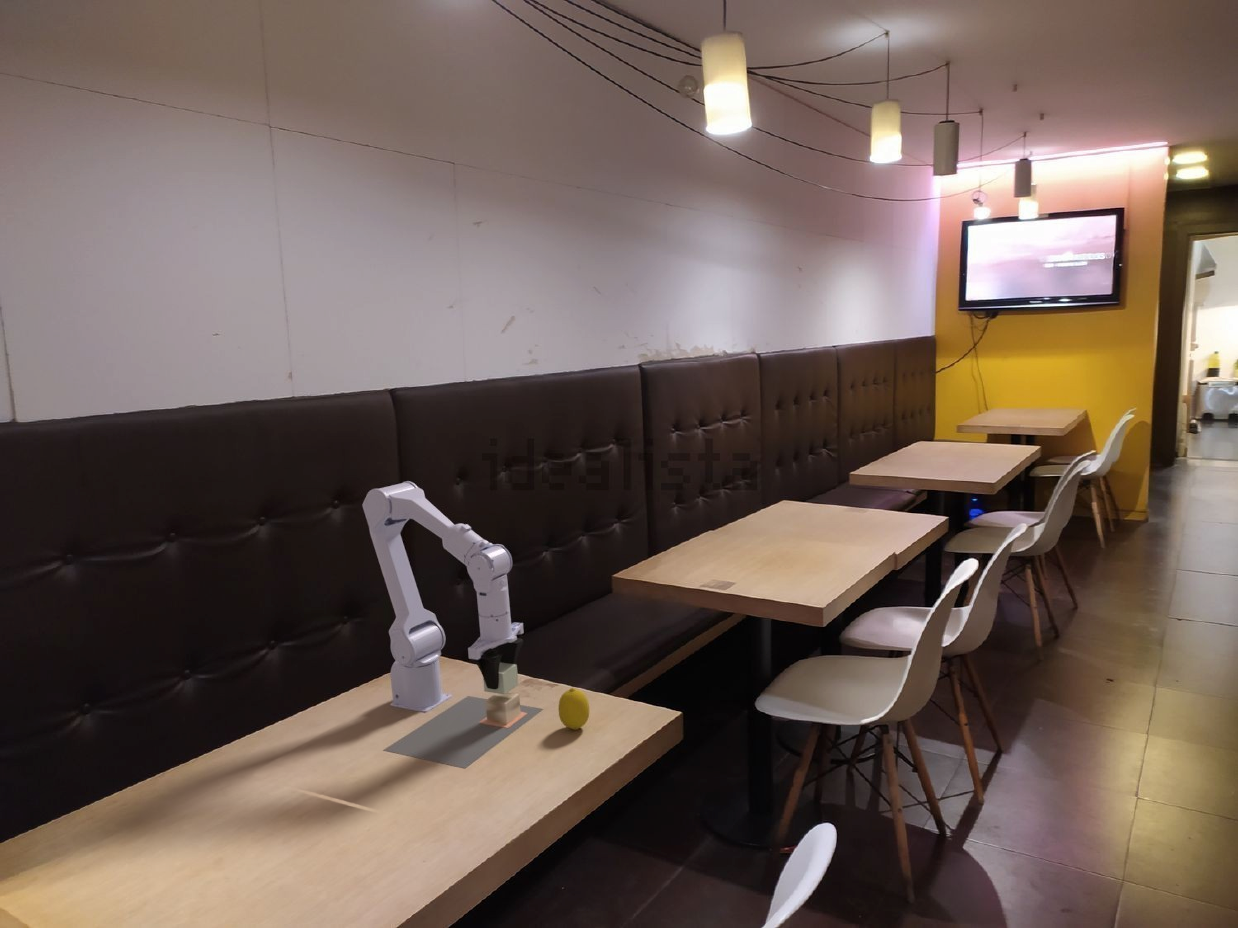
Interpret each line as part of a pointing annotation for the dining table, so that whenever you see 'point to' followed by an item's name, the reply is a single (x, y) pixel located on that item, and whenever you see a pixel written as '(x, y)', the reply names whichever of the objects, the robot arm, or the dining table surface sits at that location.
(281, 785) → the dining table surface
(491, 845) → the dining table surface
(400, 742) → the grey mat
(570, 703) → the lemon
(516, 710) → the cream block
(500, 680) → the sage block
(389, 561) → the robot arm
